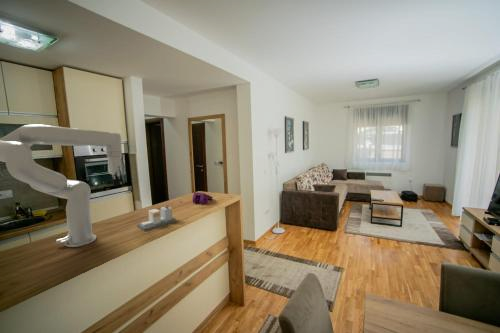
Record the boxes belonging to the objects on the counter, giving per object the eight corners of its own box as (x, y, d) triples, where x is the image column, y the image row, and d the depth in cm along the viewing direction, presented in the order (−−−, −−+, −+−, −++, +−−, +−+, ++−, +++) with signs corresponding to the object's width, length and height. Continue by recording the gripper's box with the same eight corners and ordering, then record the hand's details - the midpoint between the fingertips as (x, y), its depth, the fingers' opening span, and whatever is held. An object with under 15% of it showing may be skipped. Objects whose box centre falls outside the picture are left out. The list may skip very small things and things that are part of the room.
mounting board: (144, 231, 124) (143, 214, 123) (137, 226, 131) (136, 210, 130) (176, 221, 139) (175, 206, 138) (168, 217, 146) (168, 203, 145)
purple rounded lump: (203, 206, 190) (191, 202, 174) (205, 196, 193) (194, 192, 177) (212, 207, 187) (201, 203, 171) (214, 197, 189) (203, 193, 173)
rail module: (153, 224, 130) (152, 212, 129) (149, 222, 134) (148, 210, 133) (160, 222, 133) (160, 211, 132) (156, 220, 137) (155, 208, 137)
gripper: (103, 154, 128) (105, 184, 131) (111, 155, 118) (113, 188, 121) (117, 153, 134) (119, 182, 136) (126, 155, 124) (128, 186, 126)
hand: (116, 185), depth 129 cm, fingers closed
